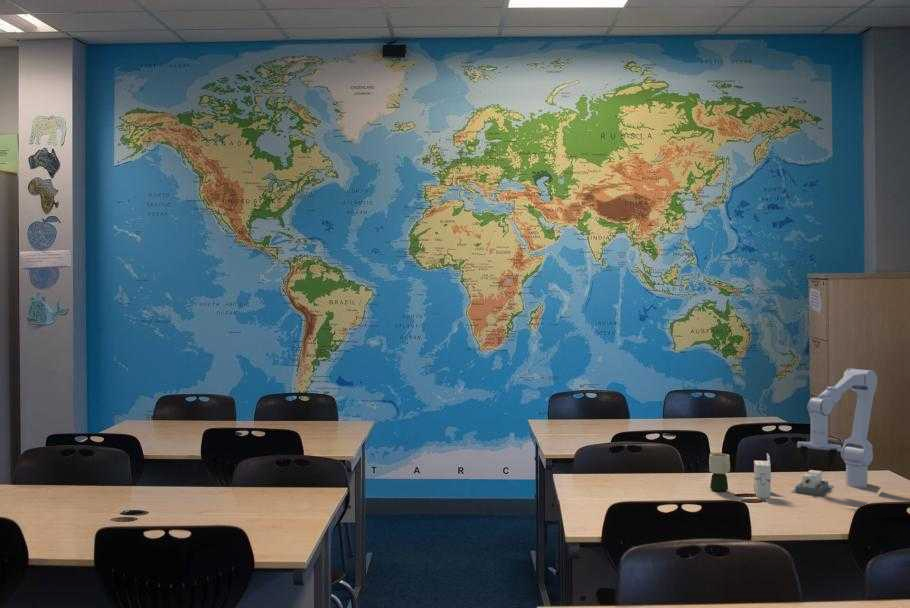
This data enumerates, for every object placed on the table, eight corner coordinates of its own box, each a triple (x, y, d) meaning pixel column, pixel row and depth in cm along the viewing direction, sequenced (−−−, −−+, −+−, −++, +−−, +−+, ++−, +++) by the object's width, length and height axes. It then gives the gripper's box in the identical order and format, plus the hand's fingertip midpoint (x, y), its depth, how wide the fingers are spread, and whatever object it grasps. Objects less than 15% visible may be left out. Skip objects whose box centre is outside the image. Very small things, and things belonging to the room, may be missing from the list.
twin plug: (811, 484, 336) (811, 468, 336) (822, 486, 334) (823, 470, 334) (807, 488, 330) (807, 472, 330) (818, 490, 328) (818, 473, 328)
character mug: (737, 492, 327) (737, 456, 327) (721, 494, 324) (721, 458, 324) (717, 486, 337) (717, 451, 337) (701, 488, 334) (702, 453, 334)
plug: (805, 489, 328) (805, 473, 328) (817, 491, 326) (817, 474, 325) (800, 493, 322) (801, 477, 321) (812, 495, 319) (812, 478, 319)
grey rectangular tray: (803, 484, 340) (803, 476, 340) (834, 488, 334) (834, 480, 334) (790, 495, 324) (790, 486, 324) (823, 499, 318) (823, 490, 318)
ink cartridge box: (753, 492, 328) (753, 451, 328) (767, 493, 327) (768, 452, 327) (756, 497, 320) (756, 456, 319) (770, 498, 319) (771, 456, 318)
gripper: (795, 431, 324) (794, 468, 325) (838, 434, 316) (838, 473, 317) (800, 428, 330) (799, 465, 330) (842, 432, 322) (842, 470, 322)
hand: (818, 469), depth 324 cm, fingers open, 7 cm apart
